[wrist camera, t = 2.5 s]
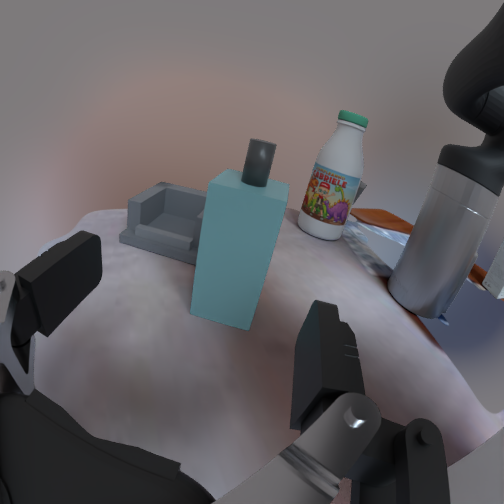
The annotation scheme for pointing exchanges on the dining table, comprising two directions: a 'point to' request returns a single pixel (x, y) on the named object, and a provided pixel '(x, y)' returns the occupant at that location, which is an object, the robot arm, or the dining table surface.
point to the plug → (238, 239)
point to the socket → (166, 221)
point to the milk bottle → (334, 179)
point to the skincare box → (496, 275)
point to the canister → (479, 474)
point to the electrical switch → (360, 190)
